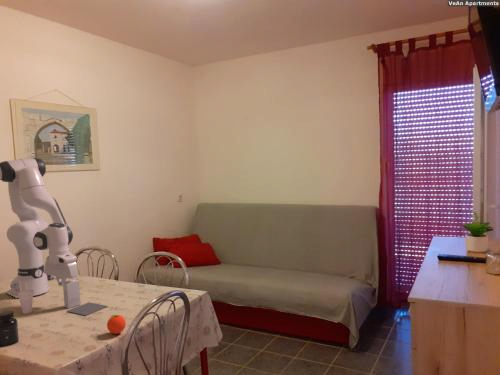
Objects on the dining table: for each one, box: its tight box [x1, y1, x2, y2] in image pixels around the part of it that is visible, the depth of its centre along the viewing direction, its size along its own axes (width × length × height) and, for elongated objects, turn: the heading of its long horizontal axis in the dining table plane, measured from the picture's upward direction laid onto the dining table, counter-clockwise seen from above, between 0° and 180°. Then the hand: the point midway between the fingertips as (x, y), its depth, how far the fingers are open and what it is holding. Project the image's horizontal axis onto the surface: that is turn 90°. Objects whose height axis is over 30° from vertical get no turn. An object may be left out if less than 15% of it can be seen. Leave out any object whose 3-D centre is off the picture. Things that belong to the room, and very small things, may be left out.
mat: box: [66, 302, 108, 317], centre depth 180 cm, size 13×12×1 cm
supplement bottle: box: [0, 310, 20, 348], centre depth 146 cm, size 7×7×12 cm
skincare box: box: [62, 278, 82, 309], centre depth 185 cm, size 6×4×12 cm
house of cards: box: [44, 271, 56, 280], centre depth 239 cm, size 9×9×8 cm
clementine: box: [106, 314, 127, 335], centre depth 152 cm, size 8×7×7 cm
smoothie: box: [18, 282, 34, 314], centre depth 179 cm, size 6×6×14 cm
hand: (61, 285), depth 188 cm, fingers closed
